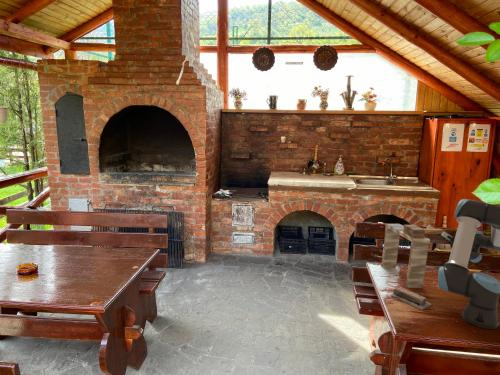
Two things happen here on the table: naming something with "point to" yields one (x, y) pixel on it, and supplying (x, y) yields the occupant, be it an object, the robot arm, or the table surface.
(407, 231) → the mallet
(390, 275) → the table surface
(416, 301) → the packaged product
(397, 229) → the frame
